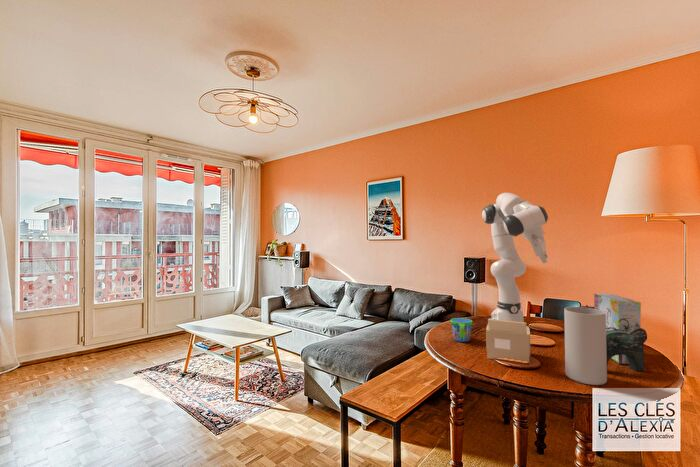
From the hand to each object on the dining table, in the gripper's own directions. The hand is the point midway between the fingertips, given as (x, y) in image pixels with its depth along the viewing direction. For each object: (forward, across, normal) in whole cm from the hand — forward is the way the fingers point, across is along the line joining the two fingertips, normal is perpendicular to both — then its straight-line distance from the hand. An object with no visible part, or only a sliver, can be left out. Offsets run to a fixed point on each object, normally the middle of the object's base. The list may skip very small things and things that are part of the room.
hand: (545, 260), depth 158 cm
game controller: (+44, -25, -11) cm, 52 cm away
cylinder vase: (+37, -40, -1) cm, 55 cm away
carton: (+30, -29, +26) cm, 49 cm away
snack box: (+47, -6, -11) cm, 49 cm away
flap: (+14, -37, +19) cm, 44 cm away
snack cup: (+24, -18, +48) cm, 56 cm away
